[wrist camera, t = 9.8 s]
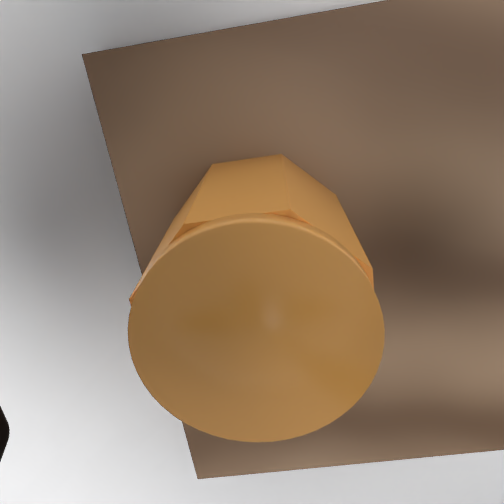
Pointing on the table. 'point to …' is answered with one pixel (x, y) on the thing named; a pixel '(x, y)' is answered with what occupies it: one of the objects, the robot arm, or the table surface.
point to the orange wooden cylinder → (257, 306)
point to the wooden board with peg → (347, 195)
